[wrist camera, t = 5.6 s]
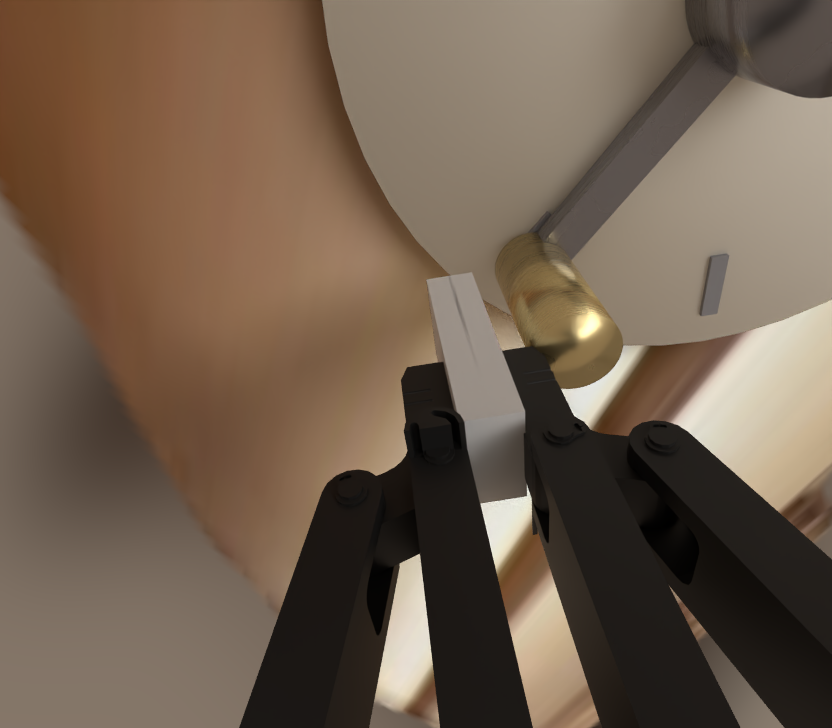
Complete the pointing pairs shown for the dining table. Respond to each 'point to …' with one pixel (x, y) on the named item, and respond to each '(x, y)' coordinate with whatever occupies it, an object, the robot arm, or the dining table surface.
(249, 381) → the dining table surface
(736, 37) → the crank handle
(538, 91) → the dial board
